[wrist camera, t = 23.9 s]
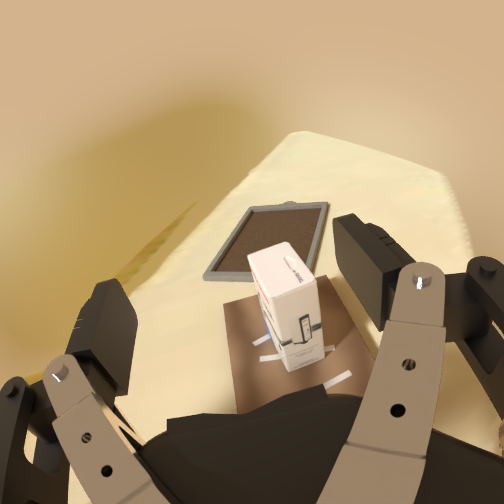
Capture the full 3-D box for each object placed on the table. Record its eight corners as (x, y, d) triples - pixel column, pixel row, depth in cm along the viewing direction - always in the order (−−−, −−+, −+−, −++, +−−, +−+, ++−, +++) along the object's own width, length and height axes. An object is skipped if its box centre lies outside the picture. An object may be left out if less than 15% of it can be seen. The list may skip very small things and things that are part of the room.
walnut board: (251, 475, 26) (246, 469, 25) (226, 313, 48) (223, 303, 47) (402, 427, 26) (405, 419, 25) (327, 284, 49) (326, 274, 47)
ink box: (265, 327, 41) (243, 252, 35) (300, 313, 42) (285, 238, 36) (287, 374, 34) (267, 298, 28) (327, 358, 35) (318, 278, 28)
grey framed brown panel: (201, 276, 57) (252, 201, 80) (204, 283, 58) (254, 207, 81) (308, 277, 50) (329, 196, 73) (309, 285, 50) (329, 202, 73)
